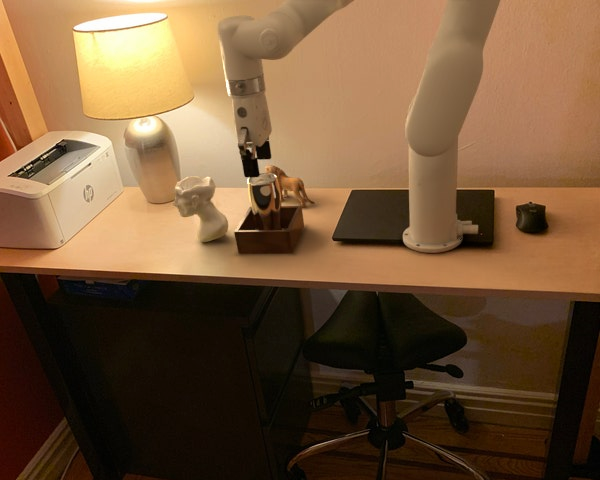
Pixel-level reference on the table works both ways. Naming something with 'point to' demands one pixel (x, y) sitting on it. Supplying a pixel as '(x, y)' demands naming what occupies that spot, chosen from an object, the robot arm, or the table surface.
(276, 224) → the beer glass
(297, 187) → the lion figurine
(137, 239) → the table surface
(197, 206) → the white sculpted bust
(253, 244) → the tub
